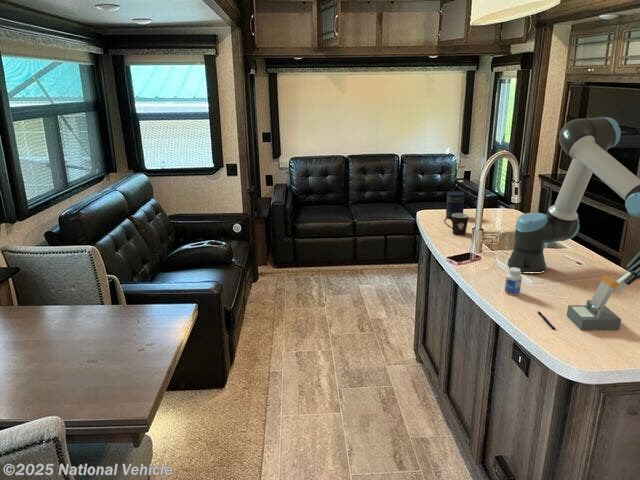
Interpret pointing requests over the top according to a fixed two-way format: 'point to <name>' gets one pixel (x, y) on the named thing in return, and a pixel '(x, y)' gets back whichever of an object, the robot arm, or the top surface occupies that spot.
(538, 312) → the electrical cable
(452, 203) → the storage jar
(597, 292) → the lever
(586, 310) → the switch box
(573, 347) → the top surface
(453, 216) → the coffee mug
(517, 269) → the pill bottle
